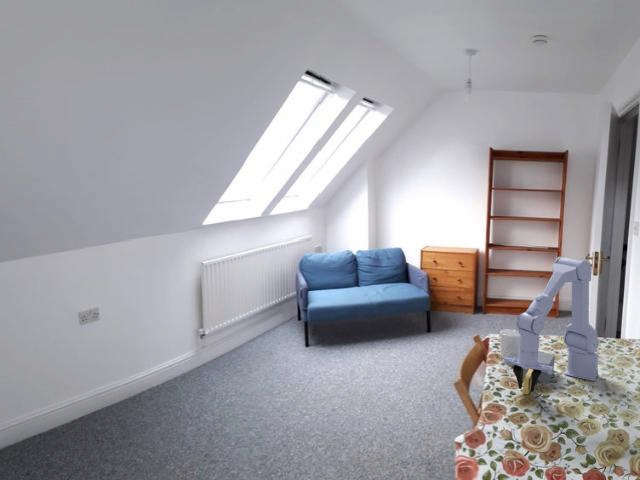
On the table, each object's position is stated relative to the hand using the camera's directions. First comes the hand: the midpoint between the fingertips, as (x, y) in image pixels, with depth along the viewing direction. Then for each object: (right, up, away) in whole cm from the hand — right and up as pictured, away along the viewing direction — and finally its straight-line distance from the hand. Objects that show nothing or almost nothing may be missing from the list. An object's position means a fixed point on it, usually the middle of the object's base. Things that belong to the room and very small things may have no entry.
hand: (526, 389), depth 157 cm
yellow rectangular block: (+2, -1, +3) cm, 4 cm away
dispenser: (+10, +1, +13) cm, 17 cm away
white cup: (+6, +3, +29) cm, 30 cm away
